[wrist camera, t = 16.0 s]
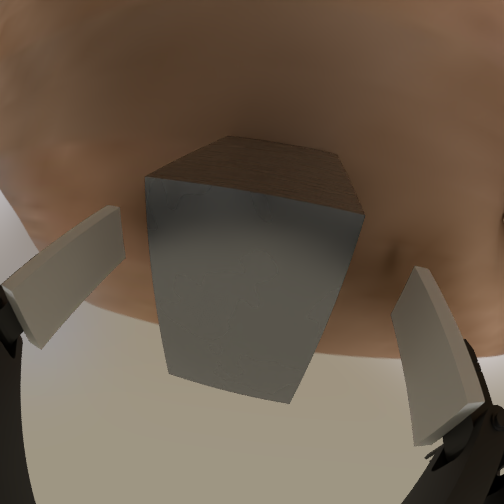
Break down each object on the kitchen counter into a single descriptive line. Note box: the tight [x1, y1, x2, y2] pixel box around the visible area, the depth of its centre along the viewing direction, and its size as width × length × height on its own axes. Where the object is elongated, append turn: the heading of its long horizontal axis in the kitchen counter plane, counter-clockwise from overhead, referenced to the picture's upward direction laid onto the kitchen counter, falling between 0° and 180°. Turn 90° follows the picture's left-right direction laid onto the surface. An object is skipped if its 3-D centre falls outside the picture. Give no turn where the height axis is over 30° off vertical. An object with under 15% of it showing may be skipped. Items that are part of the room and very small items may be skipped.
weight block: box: [145, 136, 365, 404], centre depth 11 cm, size 8×5×7 cm, turn 173°
